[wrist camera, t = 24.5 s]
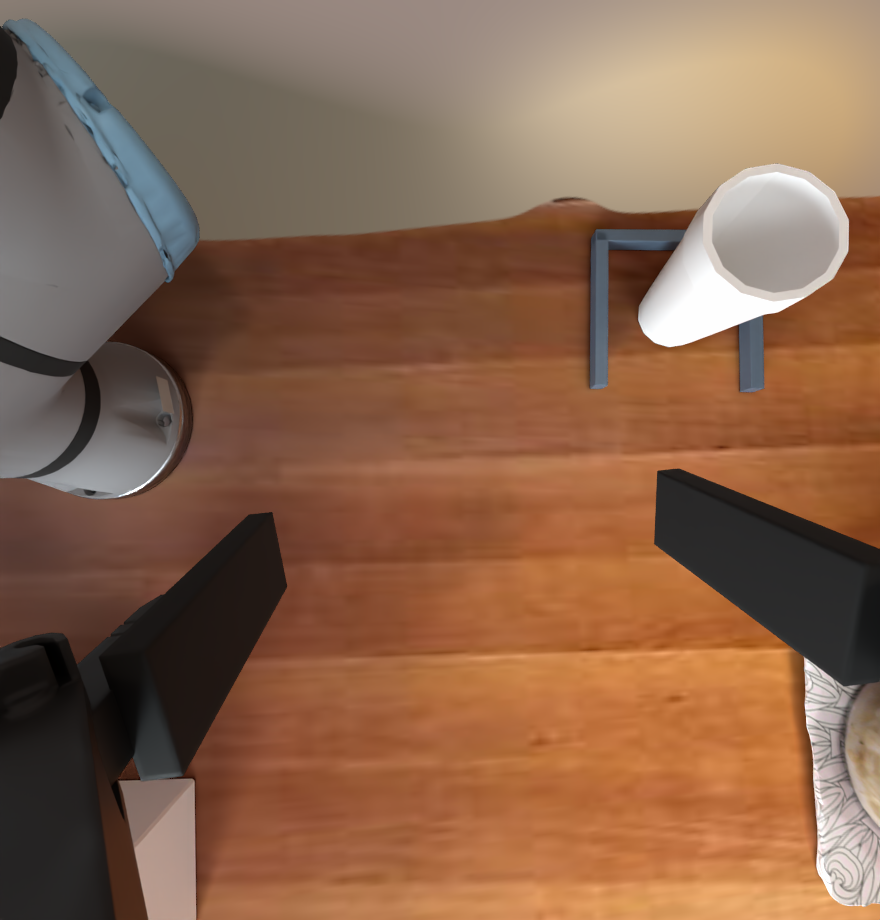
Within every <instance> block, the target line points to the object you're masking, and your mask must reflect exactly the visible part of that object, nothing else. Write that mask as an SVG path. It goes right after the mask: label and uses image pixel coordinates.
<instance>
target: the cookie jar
mask: <svg viewBox="0 0 880 920" xmlns="http://www.w3.org/2000/svg"><path fill="white" fill-rule="evenodd" d="M804 672H805V690H806V691H805V712H806V727H807V730H808V733H809V736H810V740H811V746H812V754H813V782H814V793H815V804H816V819H817V838H818V849H817V865H816V867H817V870H818V874H819V876H820V877H821V878H822V880H823V881H824V883H825V885H826V887H827V889H828V891H829V894H830V895H831V896H832V897H833V899H834V900H836V901H837V902H839V903H841V904H843V905H846V906H859V905H862V906H863V907H865V906H868V905H870V904H871V903H879V904H880V682H876V683H868V684H861V685H853V686H846V687H844V686H842V685H841V684H840V683H838V682H837V681H836V680H834V679H833V678H832V677H830V676H829V675H828V674H826V673H825V672H824V671H822V670H821V669H820V668H818V667H817V666H816V665H814V664H813V663H812V662H810V661H809V660H808V659H806V658H805V657H804Z"/></svg>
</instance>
